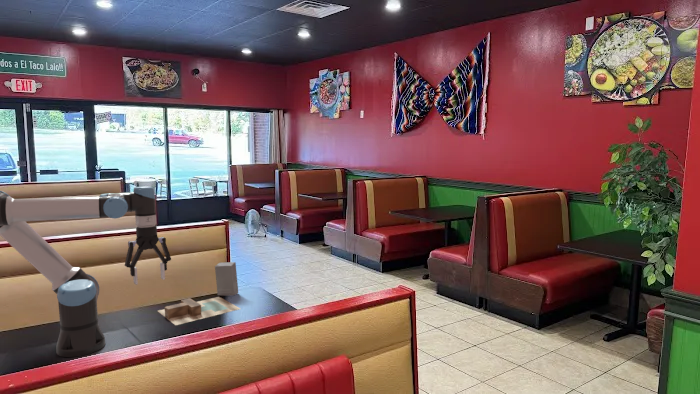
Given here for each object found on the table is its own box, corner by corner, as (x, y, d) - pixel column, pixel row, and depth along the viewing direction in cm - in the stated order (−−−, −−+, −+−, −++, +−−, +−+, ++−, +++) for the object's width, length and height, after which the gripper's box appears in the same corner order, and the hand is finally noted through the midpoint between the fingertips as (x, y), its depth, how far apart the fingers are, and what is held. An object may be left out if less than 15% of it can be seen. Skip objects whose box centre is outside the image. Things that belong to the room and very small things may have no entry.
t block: (171, 321, 189) (171, 311, 189) (161, 313, 198) (161, 304, 198) (201, 314, 197) (201, 305, 196) (190, 307, 206) (190, 298, 206)
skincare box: (238, 293, 228) (237, 261, 226) (233, 298, 221) (232, 265, 219) (221, 293, 229) (220, 261, 227) (216, 298, 221) (214, 265, 220)
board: (175, 328, 185) (175, 325, 185) (157, 313, 202) (157, 310, 202) (241, 311, 203) (241, 308, 203) (219, 299, 220) (219, 296, 220)
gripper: (118, 230, 176) (122, 289, 178) (178, 223, 190) (181, 277, 193) (112, 228, 182) (116, 284, 184) (171, 221, 196) (174, 274, 198)
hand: (149, 281), depth 188 cm, fingers open, 10 cm apart
